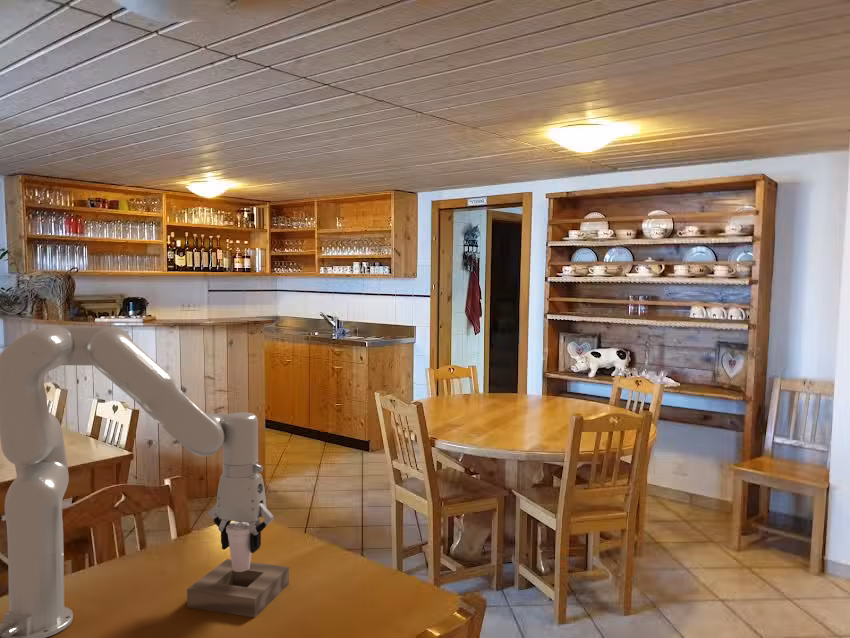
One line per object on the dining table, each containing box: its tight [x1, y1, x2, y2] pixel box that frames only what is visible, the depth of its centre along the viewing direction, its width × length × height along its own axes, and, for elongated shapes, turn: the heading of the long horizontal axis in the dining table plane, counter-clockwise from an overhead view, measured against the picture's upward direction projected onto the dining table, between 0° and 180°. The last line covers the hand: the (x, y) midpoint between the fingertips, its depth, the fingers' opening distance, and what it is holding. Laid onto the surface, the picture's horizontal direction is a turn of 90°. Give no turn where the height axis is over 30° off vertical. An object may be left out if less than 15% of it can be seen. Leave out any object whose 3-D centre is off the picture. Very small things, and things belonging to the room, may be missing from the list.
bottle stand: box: [186, 558, 290, 618], centre depth 145 cm, size 16×16×4 cm
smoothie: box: [226, 521, 252, 572], centre depth 145 cm, size 6×6×14 cm
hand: (240, 548), depth 145 cm, fingers closed on smoothie, 6 cm apart
